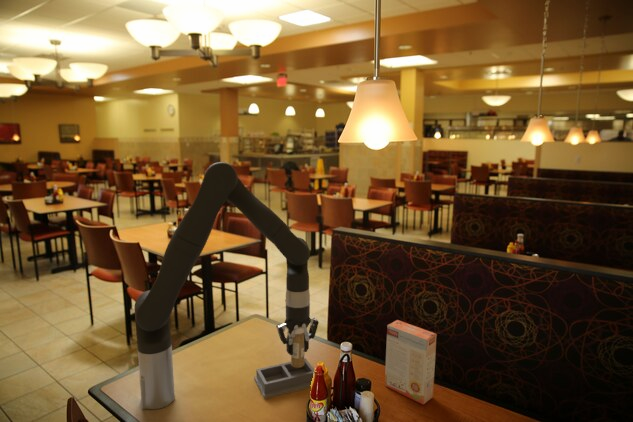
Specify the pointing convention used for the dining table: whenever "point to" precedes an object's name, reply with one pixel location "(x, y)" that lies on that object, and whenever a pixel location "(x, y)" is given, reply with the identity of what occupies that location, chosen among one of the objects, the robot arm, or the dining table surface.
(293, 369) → the caddy
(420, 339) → the cracker box
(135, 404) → the dining table surface
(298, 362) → the sprinkles bottle
